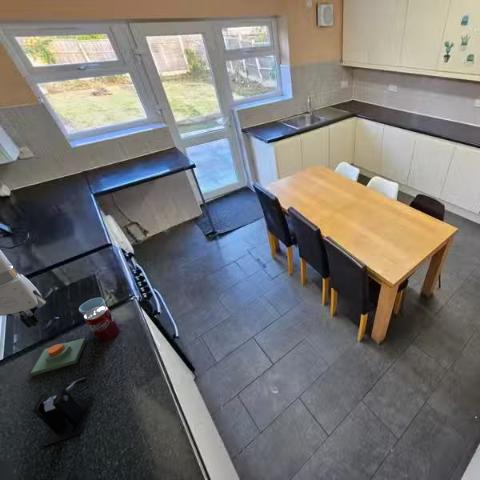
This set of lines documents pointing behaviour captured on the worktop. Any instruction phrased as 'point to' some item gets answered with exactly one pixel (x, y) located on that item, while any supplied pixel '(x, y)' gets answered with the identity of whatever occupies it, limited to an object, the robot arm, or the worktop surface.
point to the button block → (59, 357)
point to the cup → (91, 305)
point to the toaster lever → (49, 402)
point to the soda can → (102, 323)
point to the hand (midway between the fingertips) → (34, 323)
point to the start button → (55, 349)
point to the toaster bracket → (63, 416)
